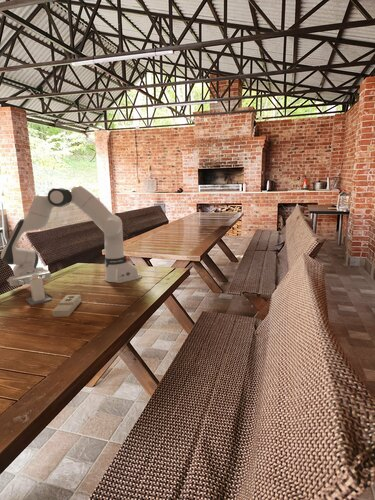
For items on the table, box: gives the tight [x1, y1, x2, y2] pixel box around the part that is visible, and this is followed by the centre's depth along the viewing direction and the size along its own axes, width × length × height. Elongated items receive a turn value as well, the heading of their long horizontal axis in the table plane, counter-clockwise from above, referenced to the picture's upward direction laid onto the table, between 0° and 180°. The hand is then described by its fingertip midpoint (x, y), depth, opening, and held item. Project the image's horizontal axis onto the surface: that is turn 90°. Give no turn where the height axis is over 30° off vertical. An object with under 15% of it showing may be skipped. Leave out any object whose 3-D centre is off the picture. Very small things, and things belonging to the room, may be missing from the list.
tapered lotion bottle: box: [29, 274, 46, 301], centre depth 161 cm, size 5×5×13 cm
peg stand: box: [25, 293, 53, 307], centre depth 162 cm, size 10×10×8 cm
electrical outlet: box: [51, 294, 82, 318], centre depth 151 cm, size 7×4×18 cm
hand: (34, 281), depth 163 cm, fingers open, 8 cm apart
